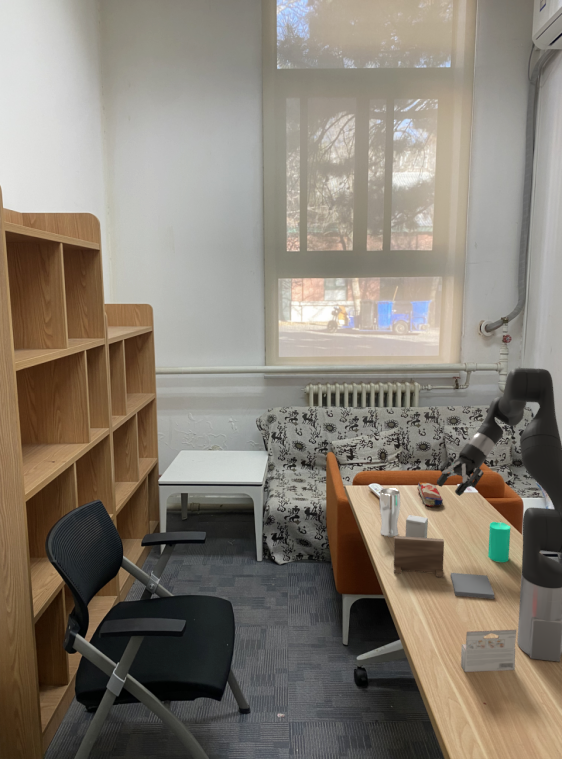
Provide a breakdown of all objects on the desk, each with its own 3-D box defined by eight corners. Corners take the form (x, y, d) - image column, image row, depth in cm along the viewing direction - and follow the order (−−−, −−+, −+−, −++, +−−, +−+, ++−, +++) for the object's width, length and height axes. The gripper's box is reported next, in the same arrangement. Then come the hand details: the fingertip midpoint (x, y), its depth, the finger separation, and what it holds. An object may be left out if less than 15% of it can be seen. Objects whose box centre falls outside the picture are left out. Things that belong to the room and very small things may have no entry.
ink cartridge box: (460, 665, 115) (461, 624, 114) (509, 663, 116) (512, 622, 114) (464, 673, 113) (466, 631, 111) (515, 671, 113) (517, 629, 112)
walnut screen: (443, 577, 151) (444, 545, 149) (394, 573, 154) (394, 541, 152) (441, 567, 157) (442, 535, 155) (393, 563, 159) (394, 532, 158)
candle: (510, 563, 159) (513, 525, 157) (489, 561, 160) (491, 524, 158) (506, 553, 165) (508, 517, 163) (486, 552, 166) (488, 516, 164)
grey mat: (494, 598, 140) (494, 594, 140) (455, 595, 142) (455, 591, 142) (486, 579, 150) (487, 575, 150) (450, 576, 152) (450, 572, 151)
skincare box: (404, 555, 164) (405, 519, 163) (407, 549, 168) (408, 514, 166) (424, 559, 162) (425, 522, 160) (427, 553, 165) (428, 517, 164)
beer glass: (384, 538, 176) (385, 496, 173) (375, 530, 182) (376, 489, 180) (403, 536, 178) (404, 494, 175) (393, 527, 184) (394, 487, 182)
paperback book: (445, 492, 217) (445, 481, 216) (442, 510, 199) (442, 498, 198) (417, 489, 221) (418, 478, 220) (412, 507, 203) (412, 494, 202)
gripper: (455, 437, 174) (426, 475, 171) (487, 448, 161) (457, 490, 159) (467, 451, 177) (439, 488, 174) (499, 463, 164) (469, 504, 161)
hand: (447, 489), depth 166 cm, fingers open, 8 cm apart
